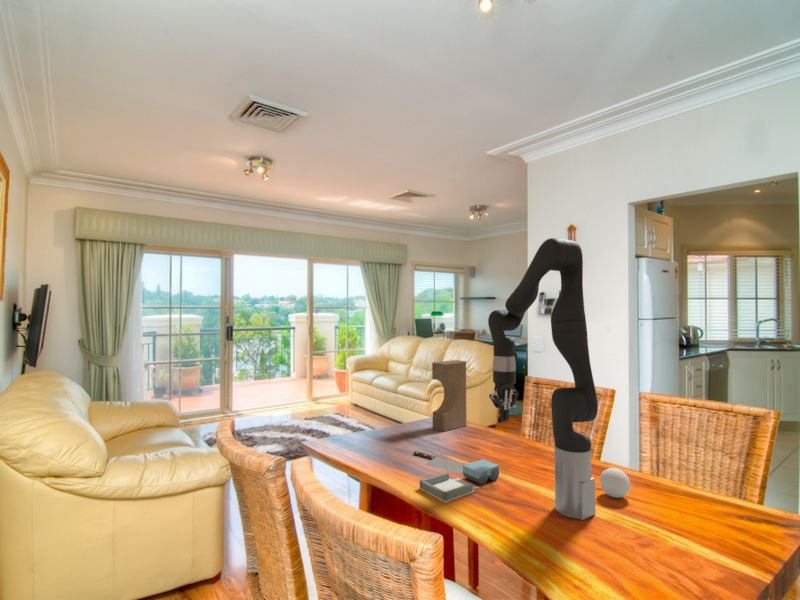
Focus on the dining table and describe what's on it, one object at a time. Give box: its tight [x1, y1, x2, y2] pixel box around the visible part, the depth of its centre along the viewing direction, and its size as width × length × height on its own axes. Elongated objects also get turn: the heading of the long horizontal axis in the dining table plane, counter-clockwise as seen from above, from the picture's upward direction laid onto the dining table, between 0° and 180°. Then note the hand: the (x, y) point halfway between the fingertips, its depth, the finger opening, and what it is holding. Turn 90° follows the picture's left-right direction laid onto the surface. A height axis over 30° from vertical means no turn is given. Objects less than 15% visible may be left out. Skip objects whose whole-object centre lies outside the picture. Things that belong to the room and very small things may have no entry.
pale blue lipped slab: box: [462, 458, 500, 486], centre depth 138 cm, size 7×10×4 cm
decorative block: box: [431, 359, 467, 433], centre depth 197 cm, size 15×8×30 cm, turn 128°
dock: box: [419, 472, 480, 503], centre depth 130 cm, size 12×15×2 cm
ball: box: [599, 467, 631, 499], centre depth 125 cm, size 8×8×8 cm
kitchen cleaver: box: [413, 450, 468, 474], centre depth 152 cm, size 24×1×10 cm
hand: (504, 420), depth 145 cm, fingers closed
